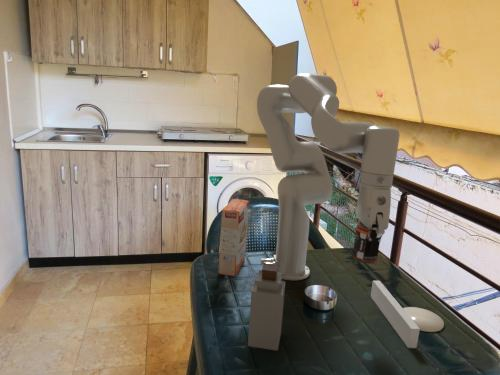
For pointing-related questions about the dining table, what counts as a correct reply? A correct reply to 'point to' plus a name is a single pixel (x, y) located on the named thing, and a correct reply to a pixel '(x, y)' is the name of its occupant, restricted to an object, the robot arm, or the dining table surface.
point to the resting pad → (425, 319)
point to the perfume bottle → (266, 309)
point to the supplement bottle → (362, 244)
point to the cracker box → (233, 236)
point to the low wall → (395, 314)
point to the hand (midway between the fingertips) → (365, 249)
